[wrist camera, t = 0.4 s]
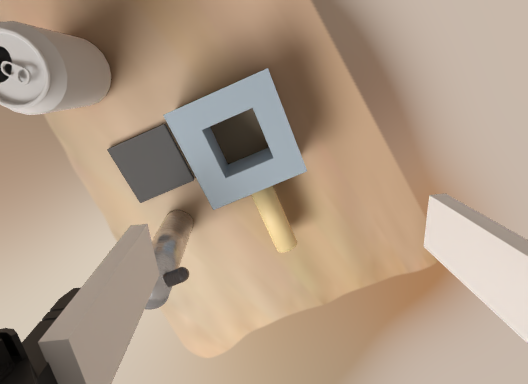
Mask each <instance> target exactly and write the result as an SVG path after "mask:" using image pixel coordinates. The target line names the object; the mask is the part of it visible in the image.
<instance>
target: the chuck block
mask: <svg viewBox="0 0 528 384" xmlns="http://www.w3.org/2000/svg"><path fill="white" fill-rule="evenodd" d="M251 108H253V110H254V112H255V115H256V117H257V119H258V122H259V124H260V127H261V129H262V131H263V134H264V136H265V139H266V141H267V143H268V146H269V147H268V148H266V149H264V150H261V151H259V152H257V153H254V154H252V155H250V156H247V157H245V158H243V159H240V160H238V161H235V162H233V163H231V164H228V163H227V161H226V159H225V157H224V155H223V153H222V151H221V149H220V147H219V145H218V142H217V140H216V138H215V136H214V134H213V132H212V130H211V128H210V126H212V125H215V124H217V123H219V122H221V121H224V120H226V119H228V118H230V117H233V116H235V115H237V114H240V113H242V112H244V111H246V110H249V109H251ZM163 116H164V118H165V119H166V121H167V123H168V125H169V127H170V129H171V131H172V133H173V135H174V136H175V138H176V140H177V142H178V144H179V146H180V148H181V150H182V152H183V154H184V155H185V157H186V159H187V161H188V163H189V165H190V167H191V169H192V171H193V172H194V174H195V176H196V178H197V180H198V182H199V184H200V186H201V188H202V189H203V191H204V193H205V195H206V197H207V199H208V201H209V203H210V205H211V207H212V208H213V210H215V209H217V208H219V207H222V206H224V205H227V204H229V203H232V202H234V201H236V200H239V199H241V198H244V197H246V196H248V195H251V196H252V198H253V200H254V202H255V204H256V206H257V208H258V211H259V213H260V215H261V217H262V219H263V221H264V223H265V225H266V228H267V230H268V232H269V234H270V236H271V238H272V240H273V243H274V245H275V247H276V249H277V251H278V252H281V253H283V252H288V251H290V250H292V249H293V248H294V247H295V246H296V245H297V240H296V238H295V236H294V233H293V231H292V229H291V227H290V224H289V222H288V220H287V217H286V215H285V213H284V210H283V208H282V206H281V204H280V201H279V199H278V197H277V194H276V192H275V190H274V187H273V185H275V184H277V183H280V182H282V181H285V180H287V179H289V178H292V177H294V176H297V175H299V174H302V173H304V172H306V171H307V169H306V167H305V164H304V161H303V159H302V156H301V154H300V151H299V148H298V146H297V143H296V140H295V138H294V135H293V133H292V130H291V127H290V125H289V122H288V120H287V117H286V114H285V112H284V109H283V106H282V104H281V101H280V99H279V96H278V93H277V91H276V88H275V86H274V83H273V80H272V78H271V75H270V72H269V70H268V68H267V69H265V70H262V71H260V72H258V73H256V74H254V75H251V76H249V77H247V78H245V79H242V80H240V81H238V82H236V83H233V84H231V85H229V86H227V87H225V88H222V89H220V90H218V91H216V92H213V93H211V94H209V95H207V96H205V97H202V98H200V99H198V100H196V101H193V102H191V103H189V104H187V105H185V106H182V107H180V108H178V109H176V110H173V111H171V112H169V113H167V114H165V115H163Z"/></svg>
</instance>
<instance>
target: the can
mask: <svg viewBox="0 0 528 384" xmlns="http://www.w3.org/2000/svg"><path fill="white" fill-rule="evenodd" d="M110 84H111V72H110V67H109V64H108V62H107V60H106V58H105V57H104V55H103V54H102V52H101V51H100V50H99V49H98V48H97V47H96V46H95V45H93V44H92V43H90V42H89V41H87V40H85V39H82V38H79V37H75V36H72V35H68V34H63V33H59V32H55V31H51V30H47V29H43V28H39V27H35V26H31V25H27V24H23V23H19V22H15V21H9V22H0V105H2V106H5V107H7V108H9V109H11V110H13V111H15V112H19V113H23V114H27V115H33V114H45V113H50V112H56V111H62V110H67V109H73V108H79V107H84V106H90V105H93V104H95V103H97V102H100V101H101V100H102V99H103V98H104V97H105V96H106V94H107V92H108V90H109V88H110Z"/></svg>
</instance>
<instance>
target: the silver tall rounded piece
mask: <svg viewBox="0 0 528 384" xmlns="http://www.w3.org/2000/svg"><path fill="white" fill-rule="evenodd" d="M192 228H193V220H192V218H191V216H190V215H189V214H188V213H186V212H184V211H180V210H176V211H172V212H170V213H169V214H168V215H167V216H166V217H165V219H164V221H163V223H162V224H161V226H160V228H159V230H158V232H157V233H156V235H155V237H154V239H153V240H152V245H153V249H154V253H155V257H156V261H157V266H158V270H159V274H160V275H159V277H158V280H157V282H156V284H155V286H154V289H153V291H152V293H151V295H150V298H149V300H148V302H147V304H146V307H145V309H155V308H158V307H161V306H162V305H163V304H164V303H165V302H166V301H167V299H168V296H169V294H170V291H171V288H172V286H174V285H176V284H179V283H181V282H184V281H186V280H187V279H188V277H189V271H188V269H186V268H185V267H180V268H179V265H180V262H181V259H182V256H183V253H184V251H185V248H186V245H187V242H188V239H189V236H190V233H191V231H192Z"/></svg>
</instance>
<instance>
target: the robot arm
mask: <svg viewBox="0 0 528 384" xmlns="http://www.w3.org/2000/svg"><path fill="white" fill-rule="evenodd" d="M424 247H425V248H426V249H427V250H428V251H429V252H430V253H431V254H432V255H433V256H434V257H435V258H436V259H438V260H439V261H440V262H441V263H442V264H443V265H444V266H445V267H446V268H447V269H448V270H449V271H450V272H452V273H453V274H454V275H455V276H456V277H457V278H458V279H459V280H460V281H461V282H462V283H463V284H464V285H465V286H467V287H468V288H469V289H470V290H471V291H472V292H473V293H474V294H475V295H476V296H477V297H478V298H479V299H481V300H482V301H483V302H484V303H485V304H486V305H487V306H488V307H489V308H490V309H491V310H492V311H493V312H494V313H496V314H497V315H498V316H499V317H500V318H501V319H502V320H503V321H504V322H505V323H506V324H507V325H509V326H510V327H511V328H512V329H513V330H514V331H515V332H516V333H517V334H518V335H519V336H520V337H521V338H522V339H523V340H525V341H526V342H527V343H528V240H527V239H525V238H523V237H521V236H520V235H518V234H516V233H514V232H513V231H511V230H509V229H507V228H506V227H504V226H502V225H500V224H499V223H497V222H495V221H493V220H491V219H490V218H488V217H486V216H484V215H483V214H481V213H479V212H477V211H475V210H474V209H472V208H470V207H468V206H467V205H465V204H463V203H461V202H459V201H458V200H456V199H454V198H452V197H451V196H449V195H447V194H436V195H430V196H429V203H428V212H427V222H426V231H425V240H424ZM159 275H160V274H159V270H158V266H157V261H156V257H155V253H154V249H153V245H152V241H151V237H150V233H149V228H148V224H142V225H132V226H130V227H129V228H128V230H127V231H126V232H125V233H124V235H123V236H122V237H121V238H120V240H119V241H118V242H117V243H116V245H115V246H114V247H113V248H112V250H111V251H110V252H109V254H108V255H107V256H106V257H105V258H104V260H103V261H102V262H101V264H100V265H99V266H98V267H97V269H96V270H95V271H94V272H93V274H92V275H91V276H90V277H89V279H88V280H87V281H86V282H85V284H84V285H83V286H82V287H81V288H74V289H72V290H71V291H69V292H68V293H67V294H65V295H64V296H63V297H61V298H60V299H59V300H58V301H57V302H56V304H55V305H54V306H53V307H52V308H51V310H50V312H48V313H47V314H46V315H45V316H44V318H43V319H42V321H41V322H39V324H38V325H37V326H36V327H35V328H34V329H33V331H32V332H31V333H30V334H29V335H28V337H26V339H25V340H24V341H23V342H22V343H21V341H20V339H19V337H18V334H17V333H16V332H15V330H14V329H8V328H5V329H0V384H111V383H112V381H113V379H114V377H115V374H116V372H117V370H118V368H119V365H120V363H121V361H122V359H123V356H124V354H125V352H126V350H127V347H128V345H129V343H130V340H131V338H132V336H133V334H134V331H135V329H136V327H137V325H138V322H139V320H140V318H141V316H142V313H143V311H144V309H145V307H146V304H147V302H148V300H149V298H150V295H151V293H152V291H153V289H154V286H155V284H156V282H157V280H158V277H159Z"/></svg>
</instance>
